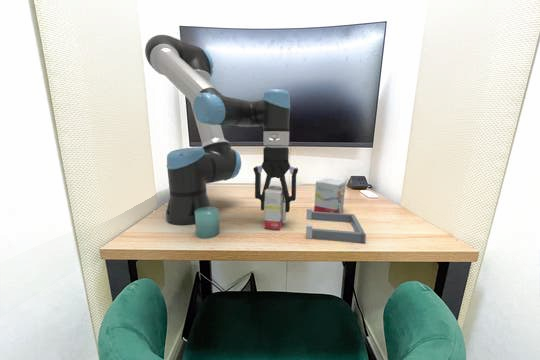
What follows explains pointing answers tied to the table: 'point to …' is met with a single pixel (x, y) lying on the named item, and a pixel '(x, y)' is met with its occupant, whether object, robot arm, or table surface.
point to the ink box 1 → (274, 207)
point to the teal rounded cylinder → (207, 222)
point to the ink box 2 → (329, 196)
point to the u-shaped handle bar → (335, 235)
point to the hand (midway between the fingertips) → (275, 220)
